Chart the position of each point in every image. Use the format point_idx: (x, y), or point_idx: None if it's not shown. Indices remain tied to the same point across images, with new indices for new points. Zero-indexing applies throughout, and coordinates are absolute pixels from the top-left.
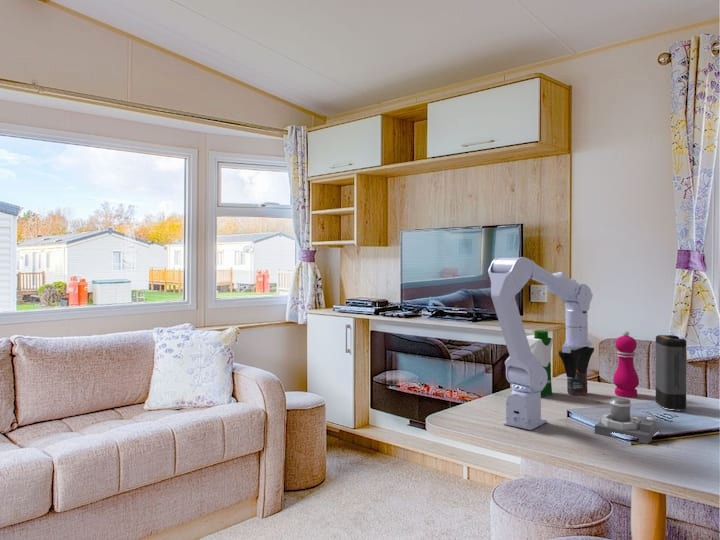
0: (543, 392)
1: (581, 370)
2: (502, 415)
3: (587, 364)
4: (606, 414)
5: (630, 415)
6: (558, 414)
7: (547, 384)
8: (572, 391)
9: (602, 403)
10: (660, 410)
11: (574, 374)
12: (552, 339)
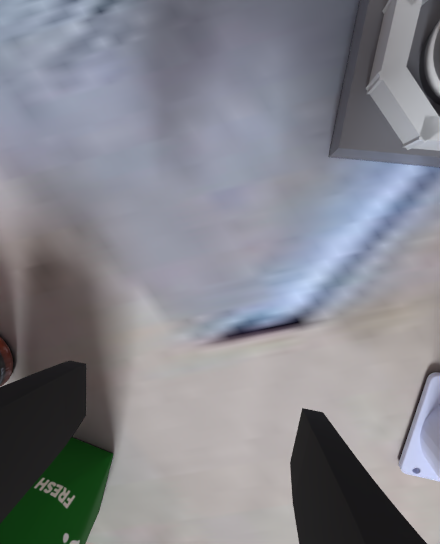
0: (82, 455)
1: (70, 406)
2: (409, 514)
3: (1, 402)
4: (436, 132)
5: (397, 4)
6: (293, 357)
7: (44, 471)
8: (3, 372)
9: (51, 251)
10: (5, 20)
11: (341, 439)
12: None
